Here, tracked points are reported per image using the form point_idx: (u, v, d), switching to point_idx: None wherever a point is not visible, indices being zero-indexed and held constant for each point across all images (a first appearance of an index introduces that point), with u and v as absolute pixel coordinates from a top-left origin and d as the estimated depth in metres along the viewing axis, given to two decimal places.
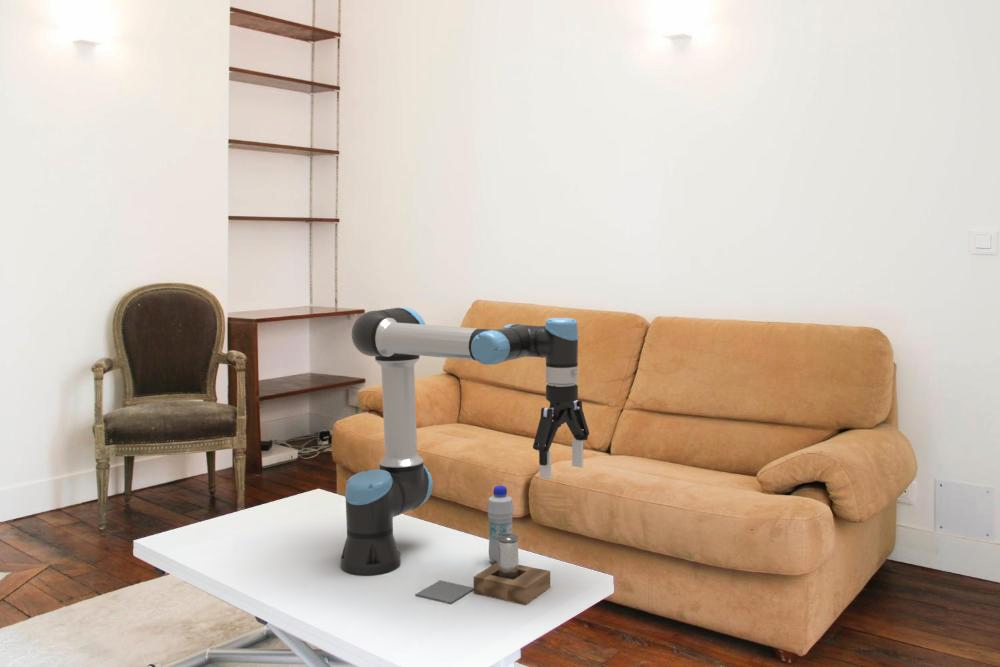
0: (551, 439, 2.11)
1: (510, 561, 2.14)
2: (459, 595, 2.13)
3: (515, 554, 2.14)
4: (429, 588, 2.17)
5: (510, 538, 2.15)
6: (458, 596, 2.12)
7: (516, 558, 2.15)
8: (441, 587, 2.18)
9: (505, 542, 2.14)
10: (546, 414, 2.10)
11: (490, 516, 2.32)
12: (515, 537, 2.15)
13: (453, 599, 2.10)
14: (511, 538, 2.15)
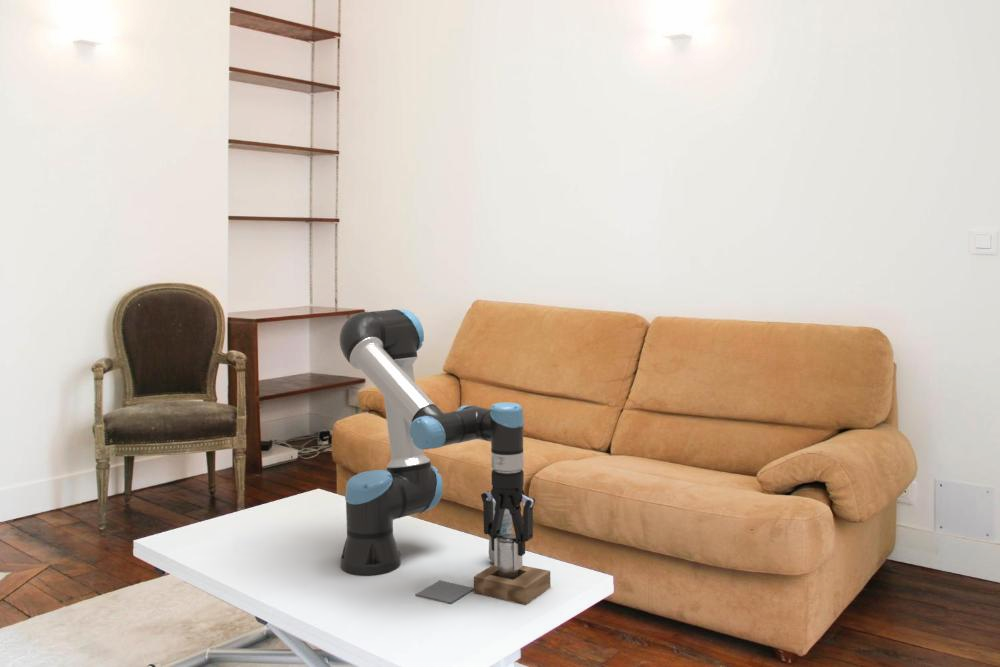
0: (494, 525, 2.16)
1: (510, 561, 2.14)
2: (459, 595, 2.13)
3: None
4: (429, 588, 2.17)
5: (510, 538, 2.15)
6: (458, 596, 2.12)
7: None
8: (441, 587, 2.18)
9: (505, 542, 2.14)
10: None
11: None
12: (515, 537, 2.15)
13: (453, 599, 2.10)
14: (511, 538, 2.15)
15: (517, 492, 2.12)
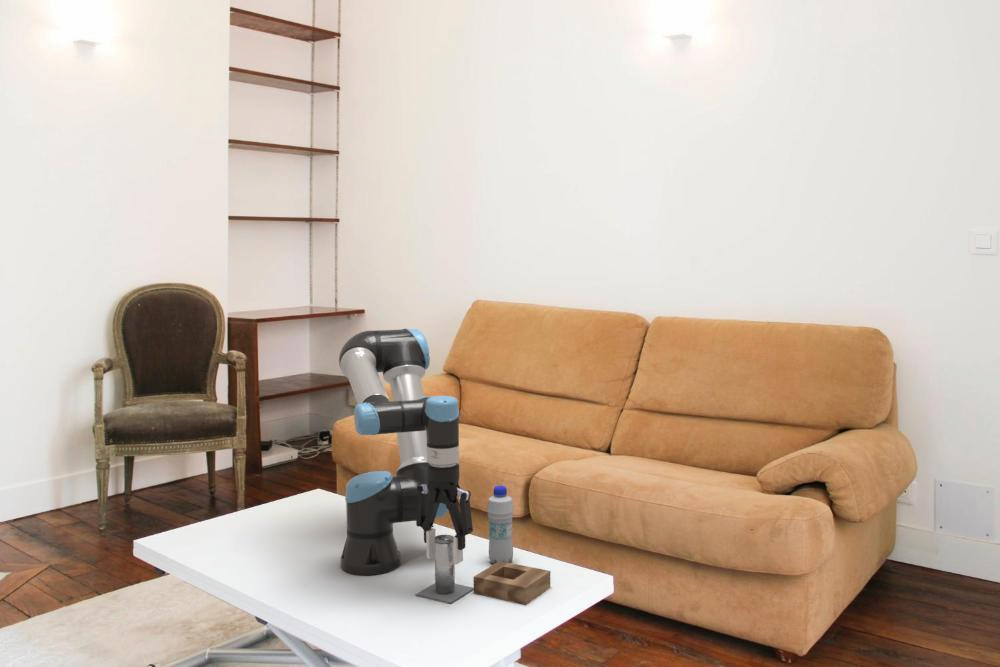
0: (427, 518, 2.15)
1: (446, 562, 2.12)
2: (459, 595, 2.13)
3: (450, 555, 2.13)
4: (429, 588, 2.17)
5: (446, 539, 2.13)
6: (458, 596, 2.12)
7: (452, 559, 2.13)
8: None
9: (441, 543, 2.12)
10: None
11: (490, 516, 2.32)
12: (451, 538, 2.14)
13: (453, 599, 2.10)
14: (447, 539, 2.13)
15: (452, 486, 2.10)
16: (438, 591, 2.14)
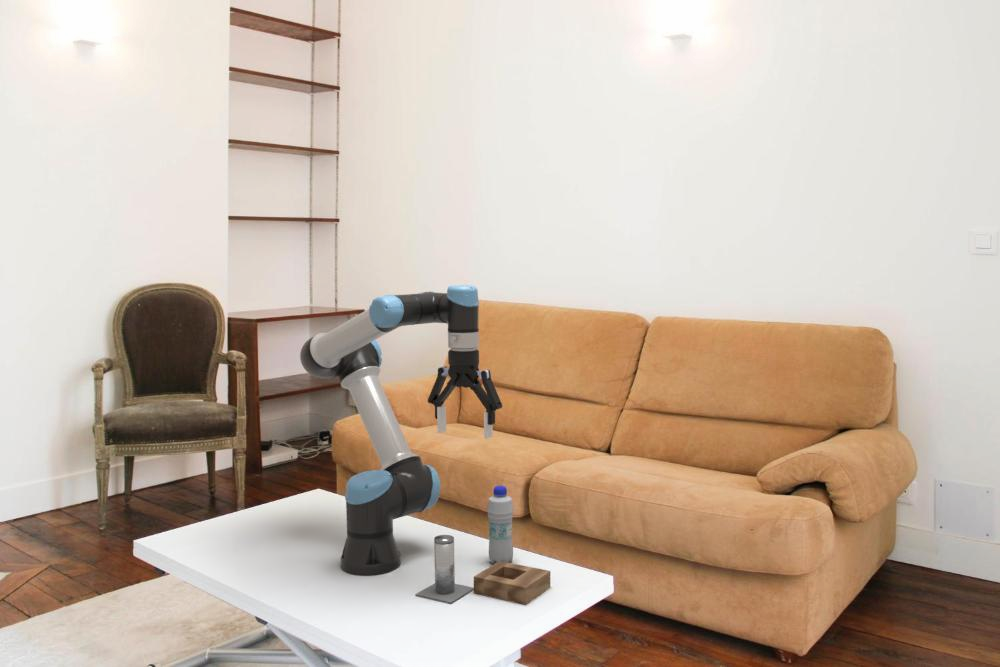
0: (440, 396, 2.26)
1: (446, 562, 2.12)
2: (459, 595, 2.13)
3: (450, 555, 2.13)
4: (429, 588, 2.17)
5: (446, 539, 2.13)
6: (458, 596, 2.12)
7: (452, 559, 2.13)
8: None
9: (440, 543, 2.12)
10: None
11: (490, 516, 2.32)
12: (451, 538, 2.14)
13: (453, 599, 2.10)
14: (447, 539, 2.13)
15: (471, 369, 2.21)
16: (438, 591, 2.14)
